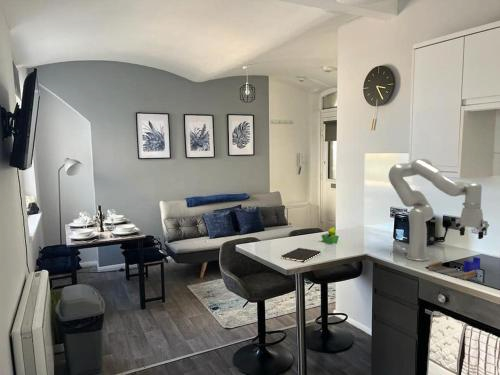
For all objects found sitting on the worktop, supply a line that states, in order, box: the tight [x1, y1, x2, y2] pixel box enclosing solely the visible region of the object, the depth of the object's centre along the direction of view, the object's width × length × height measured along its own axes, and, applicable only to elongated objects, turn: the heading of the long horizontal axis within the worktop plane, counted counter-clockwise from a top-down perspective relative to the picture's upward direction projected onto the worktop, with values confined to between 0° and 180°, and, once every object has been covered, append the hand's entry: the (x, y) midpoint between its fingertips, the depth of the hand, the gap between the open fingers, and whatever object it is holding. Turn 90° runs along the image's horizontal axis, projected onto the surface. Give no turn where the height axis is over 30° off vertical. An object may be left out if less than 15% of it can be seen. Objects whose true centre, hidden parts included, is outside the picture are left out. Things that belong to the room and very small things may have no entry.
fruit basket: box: [321, 226, 340, 245], centre depth 273 cm, size 11×9×11 cm
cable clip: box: [463, 256, 481, 272], centre depth 208 cm, size 12×4×6 cm, turn 126°
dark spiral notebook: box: [281, 247, 321, 261], centre depth 240 cm, size 16×23×2 cm
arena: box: [427, 261, 478, 281], centre depth 203 cm, size 20×11×3 cm, turn 32°
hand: (471, 237), depth 207 cm, fingers open, 9 cm apart
